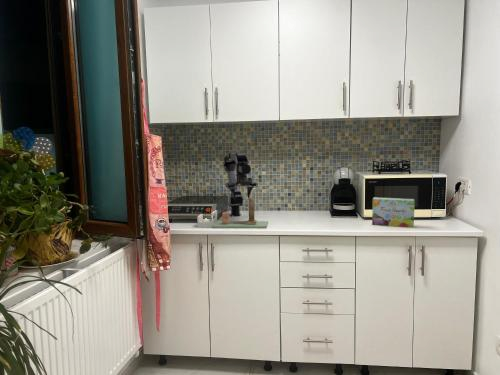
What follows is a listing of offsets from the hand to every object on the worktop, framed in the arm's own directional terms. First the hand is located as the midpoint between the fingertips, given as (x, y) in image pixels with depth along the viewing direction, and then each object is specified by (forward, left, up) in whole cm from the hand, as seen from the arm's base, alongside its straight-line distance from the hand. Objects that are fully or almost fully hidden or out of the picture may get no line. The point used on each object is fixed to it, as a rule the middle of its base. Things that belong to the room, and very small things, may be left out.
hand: (241, 198), depth 224 cm
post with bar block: (+18, +1, -12) cm, 21 cm away
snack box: (+16, +86, -13) cm, 88 cm away
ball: (+18, -18, -11) cm, 28 cm away
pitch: (+18, -3, -13) cm, 22 cm away
